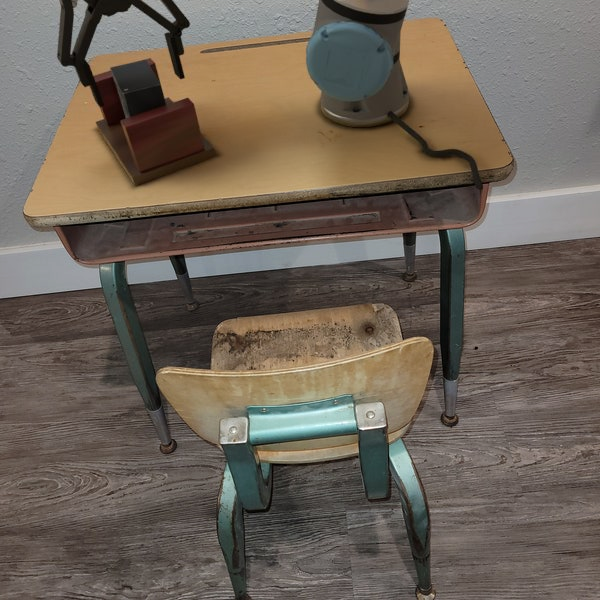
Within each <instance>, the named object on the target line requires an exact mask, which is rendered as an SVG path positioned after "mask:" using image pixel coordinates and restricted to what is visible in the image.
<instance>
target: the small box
mask: <svg viewBox="0 0 600 600" xmlns="http://www.w3.org/2000/svg"><path fill="white" fill-rule="evenodd" d="M146 59H147V58H146ZM146 59H141V60H138V61H132V62H130V63H129V62H128V63H123V64H120V65H115V66H110V68H109V71H110V70H111V73H112V75H113V78H114V81H115V84H116V87H117V90H118V93H119V97H120V100H121V103H122V107H123V110H124V113H125V117H126V118H129V117H132V116H135V115H138V114H141V113H144V112H147V111H150V110H153V109H156V108H159V107H162V106H164V105H166V102H165V98H166V97H165V95H163V94H164V91H162V90H163V87H162V84H160V83H161V81H160V82H159V80H158V79H157V77H156V76H155V74H154V72H153V71H152V69H151V67H150V65H149V64H148V62H147V60H146Z"/></svg>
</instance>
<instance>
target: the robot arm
mask: <svg viewBox="0 0 600 600" xmlns="http://www.w3.org/2000/svg"><path fill="white" fill-rule="evenodd" d="M78 1H79V0H59V3H60V15H59V25H58V39H57V52H56V58H57V60H58V62H59V63H60V65H61V66H62V67H64V68H67V67H73V68H74V69H75V72H76V74H77V75H76V76H77V77H78V80H79V82H80V83H81V85H82V86H83V87H84V88H87V87H89V89H90V91H91V93H92V97H93V98H94V101H95V103H96V104H97V106H98V107H99V108H100V107H102V106H104V103H103V101H102V98H101V95H100V92H99V90H98V87H97V84H96V82H95V79H94V74H93V71H92V67H91V66H90V64H89V63H88V61H87V60H86V57H87V54H88V52H89V50H90V47H91V44H92V42H93V38H94V36H95V33H96V30H97V27H98V26H99V24H100V23H101V20H102V19H103V18H102V17H103V16H104V17H105V16H106V17H107V18H109V17H112V16H115V14H117V13H125V12H129V10H130V8H131V7H132V6H133V7H134V8H135V9H137V10H138V11H140V12H142V13H144V14H145V16H147V17H149V18H150V19H152V20H153V21H154V22H156V23H157V24H158V25H160V26H161V27H162V28H164V29H165V30H166V31H167V32H165V33H164V38H165V42H166V46H167V50H168V53H169V58H170V62H171V64H172V68H173V69H172V70H173V73H174V74H175V76H176V77H177V78H179V80H183V79H186V78H185V72H184V68H183V65H182V61H181V57H180V56H183V55H184V54H185V49H184V48H185V47H184V45H183V40H182V35H183V31H184V30H185V29H188V28H189V27H190V26H191V22H190V20H189V19H188V18H187V17H186V15H185V14H184V13H183V11H182V10H181V9H180V8H179V7H178V5H177V4H176V3H175V1H174V0H159V1H160V2H161V3H162V5H163V6H164V7H165V8H166V9H167V11H168V12H169V13H170V14H171V15H172V17H173V18H174V19H175V20H174V21H170V20H169V19H168V18H167V17H165V16H164V15H163V14H161V13H160V12H158V11H157V10H155V8H153V7H151V6H150V5H149V4H148V3H146V2H145V1H144V0H83V2H85V3H86V4H87V6H86V8H85V11H84V17H83V21H82V23H81V25H80V28H79V32H78V34H77V38H76V40H75V43H74V45H73V49H72V43H73V42H72V38H73V30H74V21H75V20H74V19H75V8H76V7H77V6H78ZM409 3H410V0H318V4H317V9H316V15H315V21H314V26H313V30H312V34H311V36H310V37H309V40H308V41H307V44H306V49H305V65H306V70H307V72H308V75H309V78H310V80H311V81H313V83H314V85H316V87H317V88H318V89H319V90H320V91H321V93H320V109H321V112H322V114H323V115H324V116H325V117H326V118H327V119H328V120H330V121H332V122H334V123H336V124H339V125H343V126H347V127H354V128H368V127H377V126H382V125H384V124H388V123H390V122H391V123H392V122H394V123H396V124H397V125H398V126H399V127H400V128H401V129H403V130H404V131H405V132H406V133H407V134H408V135H410V136H411V137H412V138H413V139H415V140H416V142H418V143H419V144H420V145H421V148H422V152H423V153H424V154H425V155H426V156H429V157H433V158H440V157H446V156H455V157H458V158H461V159H463V160H465V161H466V162H467V163H468V165H469V167H470V171H471V175H472V179H473V182H474V185H475V188H476V190H478V191H482V190H484V185H483V183H482V179H481V176H480V172H479V169H478V168H479V167H478V165H477V162H476V160H475V158H474V157H473V156H472V155H471V154H469V153H467V152H465V151H463V150H461V149H457V148H446V149H440V150H433V149H431V148H429V144H428V142H427V140H426V139H424V137H422V135H420V134H419V132H417V131H416V130H415V129H414V128H412V127H411V126H410V125H408V124H407V123H406V122H405V121H404V120H403V119H401V118H400V117H401V116H403V115H404V114H405V113H406V111H407V110H408V108H409V105H410V92H409V87H408V83H407V79H406V77H405V74H404V70H403V67H402V64H401V63H402V62H401V59H400V58H401V57H400V56H401V32H402V27H403V24H404V21H405V18H406V15H407V11H408V8H409Z"/></svg>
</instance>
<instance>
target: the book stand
mask: <svg viewBox="0 0 600 600" xmlns="http://www.w3.org/2000/svg"><path fill="white" fill-rule="evenodd" d="M146 60H147V62H148V64H149V65H150V67H151V69H152V71H153V72H154V74H155V76H156V77H157V79H158V80H159V82H160V84H161V80H160V75H159V71H158V68H157V65H156V62H155V61H154V60H153V59H152V58H146ZM93 76H94V79H95V82H96V84H97V87H98V90H99V92H100V95H101V98H102V101H103V103H104V106H102V107H99V111H100V112H101V115H102V119H99V120H96V121H95V125H96V127H97V130H98V132H99V133H100V134H101V136H102V137H103V139H104V140H105V142H106V144H107V145H108V147H109V148H110V150H111V151H112V153H113V154H114V156H115V157H116V159H117V161H118V162H119V163H120V165H121V167H122V168H123V169H124V171H125V173H126V174H127V176H128V177H129V179H130V180H131V181H132V183H133V185H134V186H135V187H136V186H138V185H142V184H144V183H146V182H150V181H153V180H155V179H158V178H160V177H163V176H165V175H168V174H171V173H174V172H176V171H178V170H181V169H184V168H187V167H189V166H192V165H194V164H198V163H200V162H203V161H206V160H208V159H210V158H214V157H216V156H217V153H216V149H215V147H214V146H213V144H212V143H211V141H209V140H208V139H207V138H206V137H205V136H204V134H202V131H201V127H200V124H199V119H198V114H197V111H196V107H195V106H196V105H195V103H194V102H193V101H192V100H191V99H190V98H189V97H186V98H183V99H179V100H176V101H173V100H172V99H171V98H170V97H169V96H168V97H164V98H165V102H166V105H164V106H162V107H159V108H156V109H153V110H150V111H147V112H144V113H141V114H138V115H135V116H132V117H129V118H126V117H125V113H124V110H123V107H122V103H121V100H120V97H119V93H118V90H117V87H116V84H115V81H114V78H113V75H112V73H111V70H110V69H109V70H107V71H104V72H101V73H98V74H95V75H94V74H93ZM161 85H162V84H161ZM162 91H163V89H162ZM163 92H164V91H163ZM163 95H164V93H163ZM164 96H165V95H164Z"/></svg>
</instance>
